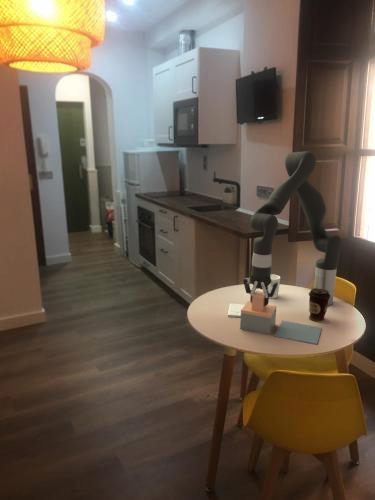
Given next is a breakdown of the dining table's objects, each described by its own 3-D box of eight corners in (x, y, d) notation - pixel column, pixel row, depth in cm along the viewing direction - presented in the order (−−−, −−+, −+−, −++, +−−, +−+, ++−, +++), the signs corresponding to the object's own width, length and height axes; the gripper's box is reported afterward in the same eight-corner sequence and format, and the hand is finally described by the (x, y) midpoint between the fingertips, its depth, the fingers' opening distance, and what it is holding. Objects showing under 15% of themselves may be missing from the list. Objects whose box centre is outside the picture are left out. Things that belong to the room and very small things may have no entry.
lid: (247, 306, 173) (248, 287, 171) (276, 311, 169) (277, 292, 167) (240, 315, 165) (241, 295, 162) (270, 321, 160) (271, 301, 158)
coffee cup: (316, 325, 170) (319, 295, 167) (302, 317, 178) (304, 289, 174) (331, 321, 174) (334, 292, 171) (317, 313, 181) (320, 286, 178)
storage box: (247, 319, 175) (247, 304, 173) (275, 324, 170) (276, 308, 168) (240, 328, 166) (240, 312, 164) (269, 334, 161) (270, 318, 160)
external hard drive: (247, 308, 188) (246, 319, 176) (229, 306, 190) (227, 317, 178) (247, 304, 188) (246, 315, 176) (229, 303, 189) (227, 314, 177)
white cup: (260, 293, 205) (261, 274, 202) (275, 292, 205) (277, 273, 203) (265, 299, 197) (266, 279, 194) (281, 298, 198) (282, 279, 195)
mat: (282, 321, 173) (282, 320, 173) (321, 328, 167) (321, 327, 167) (274, 336, 160) (274, 335, 160) (316, 344, 154) (316, 343, 154)
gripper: (281, 263, 162) (278, 304, 166) (246, 259, 167) (244, 298, 172) (277, 269, 155) (274, 311, 160) (241, 264, 161) (239, 304, 165)
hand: (259, 304), depth 166 cm, fingers closed on lid, 4 cm apart
